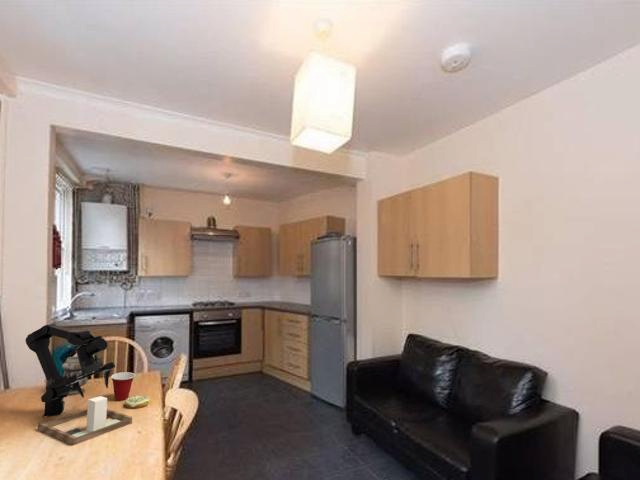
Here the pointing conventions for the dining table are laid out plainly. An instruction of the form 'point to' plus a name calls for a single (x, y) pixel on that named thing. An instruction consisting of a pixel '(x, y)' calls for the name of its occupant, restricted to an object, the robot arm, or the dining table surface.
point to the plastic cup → (122, 385)
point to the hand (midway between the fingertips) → (95, 392)
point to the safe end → (89, 432)
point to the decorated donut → (137, 401)
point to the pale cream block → (96, 413)
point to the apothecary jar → (74, 373)
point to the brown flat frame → (74, 440)
